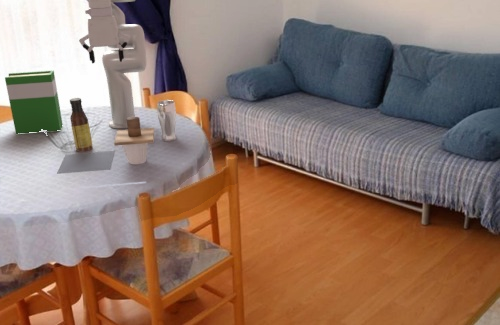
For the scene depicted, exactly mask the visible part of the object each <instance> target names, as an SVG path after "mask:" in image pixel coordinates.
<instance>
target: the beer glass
mask: <svg viewBox="0 0 500 325" xmlns="http://www.w3.org/2000/svg"><path fill="white" fill-rule="evenodd" d="M156 106H157V118H158V121H159V122H158V123H159V125H160V129H161V130H160V131H161V138H160V139H161V141H163V142H166V143H167V142H174V141H176V140H177V139H178V136H177V133H176V121H177V120H176V118H177V112H176V103H175V101H174V100H173V99H172V100H171V99H164V100H158V101H157V105H156Z"/></svg>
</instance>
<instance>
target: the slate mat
mask: <svg viewBox="0 0 500 325" xmlns="http://www.w3.org/2000/svg"><path fill="white" fill-rule="evenodd" d="M115 153H116V151H115V150H108V151H94V152H92V151H91V152H82V153H68V154H67V153H66V154H65V155H64V157H63V160H62V161H61V163H60V165H59V167H58V169H57V172H56V174H71V173H81V172H84V173H85V172H94V171H95V172H96V171H106V170H110V171H111V168H112V164H113V161H114V157H115Z"/></svg>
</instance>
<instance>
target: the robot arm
mask: <svg viewBox="0 0 500 325" xmlns="http://www.w3.org/2000/svg"><path fill="white" fill-rule="evenodd" d="M135 1H136V0H87V2H88V8H87V9H85V10H84V12H85V14H86V15H89V16H88V17H87V32H88V34H86V35H84V36H83V37H81V38H79V40H78V42H79V43H80V45H81V46H82V47H83V49H85V50H86V51H87V53H88V57H89V61H91V63H92V64H95V63H96V56H95V51H94V48H101V47H105V48H106V47H108V48H110V50H107V51H105V52H104V53H103V54H102V57H101V60H102V65H103V68H104V72H105V73H104V74H105V76H106V82H107V89H108V96H109V104H110V111H111V120H110V121H109V122H108V125H109V127H110V128H113V129H128V128H127V120H126V119H127V118H129V117H136V114H135V106H134V105H135V104H134V97H133V88H132V87H133V86H132V82H131V80H130V79H129V78H128V76H127V75H126V74H128V73H139V72H140V73H141V72H144V71H145V70H146V68H147V52H146V49H147V48H146V40H145V33H144V32H145V31H144V29H143V27H142V26H141V25H140V24H136V23H132V24H126V16H125V13H124V11H123V10H122V9H121V8H120V7H119V6H117V5H116V4H115V3H128V2H130V3H131V2H135ZM87 40H88V42H89V43H88V44H89V45H88V44H86V42H85V41H87Z"/></svg>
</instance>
